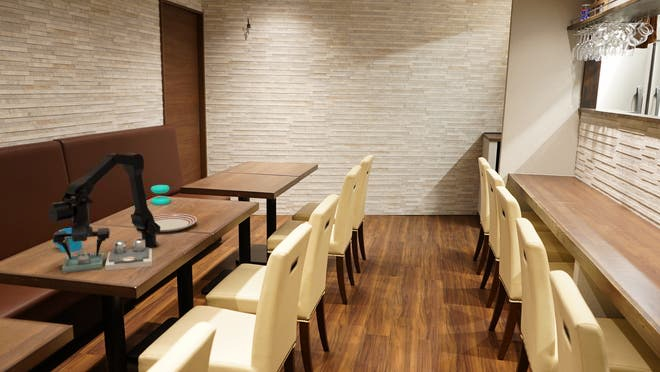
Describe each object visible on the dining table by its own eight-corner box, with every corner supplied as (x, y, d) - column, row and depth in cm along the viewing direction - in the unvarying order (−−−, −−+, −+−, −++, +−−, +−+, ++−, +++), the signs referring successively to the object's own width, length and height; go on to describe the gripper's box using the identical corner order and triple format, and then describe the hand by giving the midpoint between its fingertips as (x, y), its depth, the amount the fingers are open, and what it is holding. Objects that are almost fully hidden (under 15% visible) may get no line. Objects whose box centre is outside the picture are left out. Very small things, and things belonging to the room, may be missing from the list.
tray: (67, 261, 204) (67, 256, 203) (104, 257, 208) (104, 253, 207) (62, 272, 192) (62, 267, 191) (101, 268, 196) (101, 263, 195)
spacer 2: (114, 250, 208) (113, 240, 207) (126, 249, 209) (126, 239, 208) (113, 254, 203) (112, 244, 203) (126, 253, 205) (125, 243, 204)
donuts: (155, 188, 293) (148, 185, 301) (156, 206, 295) (149, 203, 302) (172, 186, 299) (165, 183, 307) (173, 203, 301) (166, 200, 309)
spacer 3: (133, 249, 210) (132, 239, 209) (145, 248, 211) (145, 238, 210) (133, 252, 206) (132, 242, 205) (145, 251, 207) (144, 241, 206)
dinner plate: (175, 237, 236) (174, 230, 235) (124, 232, 245) (123, 225, 244) (208, 222, 261) (207, 216, 261) (160, 218, 270) (160, 211, 269)
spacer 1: (78, 262, 201) (77, 252, 200) (91, 260, 202) (90, 250, 201) (77, 266, 197) (76, 255, 196) (90, 264, 198) (89, 254, 197)
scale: (108, 257, 209) (108, 248, 208) (152, 253, 213) (151, 245, 213) (105, 271, 193) (104, 262, 192) (152, 266, 198) (151, 257, 197)
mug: (86, 247, 221) (84, 228, 220) (74, 253, 213) (72, 233, 212) (60, 245, 223) (58, 226, 222) (47, 251, 215) (45, 232, 214)
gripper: (48, 224, 186) (52, 266, 189) (106, 220, 191) (109, 261, 194) (53, 216, 196) (57, 257, 199) (108, 213, 202) (111, 252, 205)
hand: (84, 257), depth 199 cm, fingers open, 9 cm apart
